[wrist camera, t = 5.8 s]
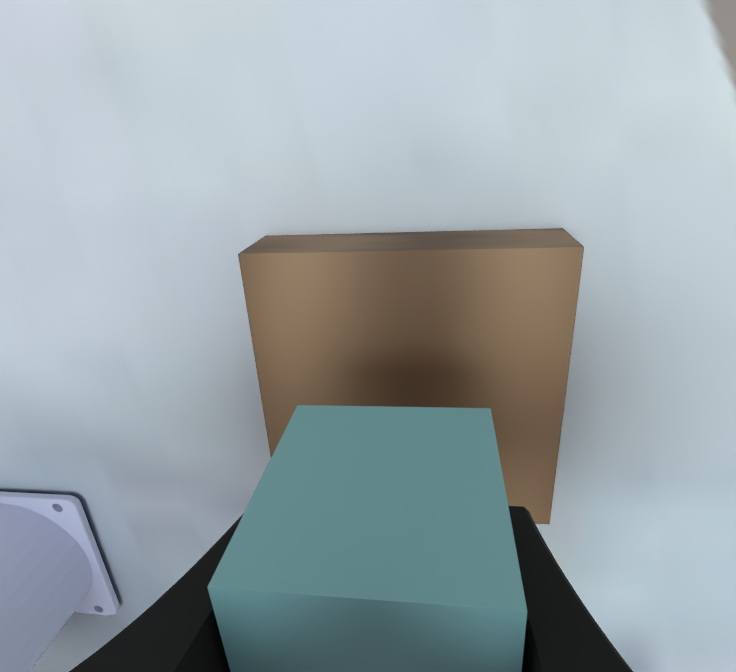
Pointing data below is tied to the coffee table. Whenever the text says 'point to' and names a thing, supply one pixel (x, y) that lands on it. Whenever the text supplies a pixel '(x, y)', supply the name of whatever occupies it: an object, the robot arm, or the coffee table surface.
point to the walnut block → (423, 332)
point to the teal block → (375, 549)
